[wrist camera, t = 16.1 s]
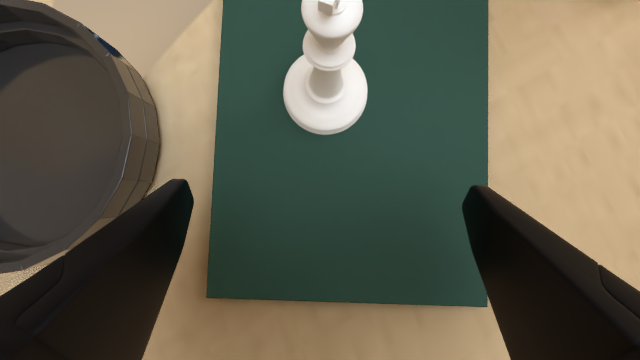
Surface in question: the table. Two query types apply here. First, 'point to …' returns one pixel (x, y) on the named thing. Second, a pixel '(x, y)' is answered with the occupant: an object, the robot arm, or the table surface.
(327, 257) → the desk mat
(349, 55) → the chess piece
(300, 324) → the table surface
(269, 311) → the table surface
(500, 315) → the robot arm
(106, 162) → the dish
